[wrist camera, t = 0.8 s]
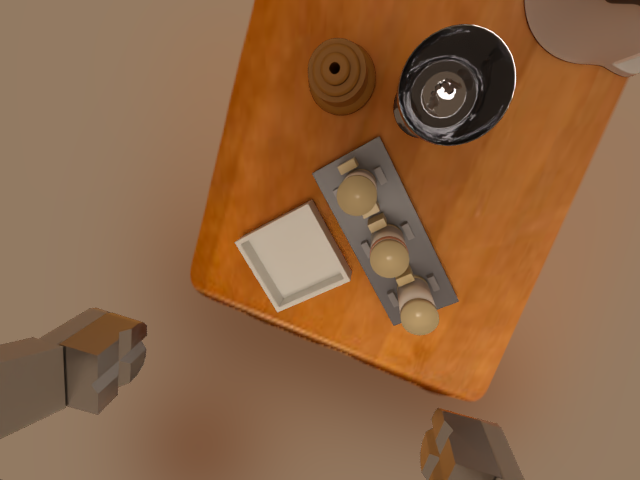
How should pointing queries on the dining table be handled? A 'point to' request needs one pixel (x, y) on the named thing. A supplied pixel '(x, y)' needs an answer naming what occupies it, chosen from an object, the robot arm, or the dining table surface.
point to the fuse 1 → (357, 192)
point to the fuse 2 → (417, 307)
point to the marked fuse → (389, 252)
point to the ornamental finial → (341, 76)
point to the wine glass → (455, 86)
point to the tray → (294, 257)
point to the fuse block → (391, 210)
